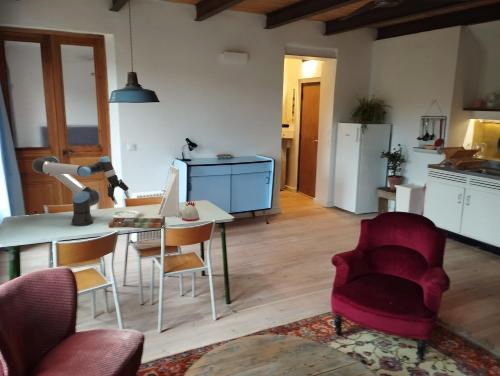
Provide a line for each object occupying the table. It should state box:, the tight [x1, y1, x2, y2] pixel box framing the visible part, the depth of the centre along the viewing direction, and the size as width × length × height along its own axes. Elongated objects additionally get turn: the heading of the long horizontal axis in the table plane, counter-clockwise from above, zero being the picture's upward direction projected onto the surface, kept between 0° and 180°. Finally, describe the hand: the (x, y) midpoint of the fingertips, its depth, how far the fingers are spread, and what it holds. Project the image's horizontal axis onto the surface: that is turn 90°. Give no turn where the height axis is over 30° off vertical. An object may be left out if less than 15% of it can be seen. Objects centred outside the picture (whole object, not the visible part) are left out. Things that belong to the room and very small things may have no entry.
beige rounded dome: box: [181, 200, 200, 222], centre depth 327 cm, size 14×14×15 cm
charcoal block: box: [123, 219, 134, 223], centre depth 307 cm, size 7×7×4 cm
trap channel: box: [107, 216, 166, 229], centre depth 307 cm, size 39×14×5 cm, turn 94°
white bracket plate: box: [156, 165, 180, 218], centre depth 334 cm, size 20×14×40 cm
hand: (122, 201), depth 315 cm, fingers open, 13 cm apart
